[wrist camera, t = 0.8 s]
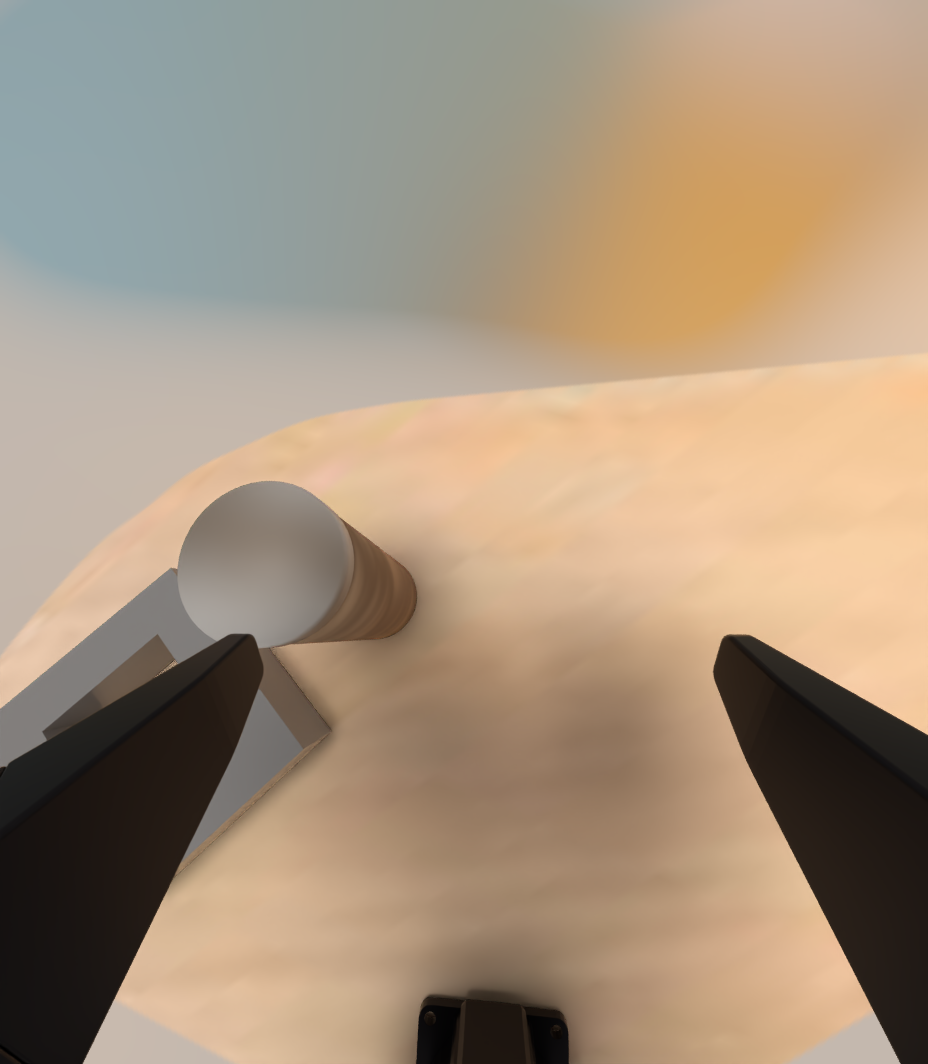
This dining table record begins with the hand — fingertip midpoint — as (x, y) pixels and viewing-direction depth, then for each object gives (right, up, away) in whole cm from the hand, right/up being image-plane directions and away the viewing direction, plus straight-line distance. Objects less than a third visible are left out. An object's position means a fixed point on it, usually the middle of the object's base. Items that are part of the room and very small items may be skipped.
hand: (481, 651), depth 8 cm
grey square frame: (-15, -8, +15) cm, 22 cm away
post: (-5, -1, +16) cm, 16 cm away
